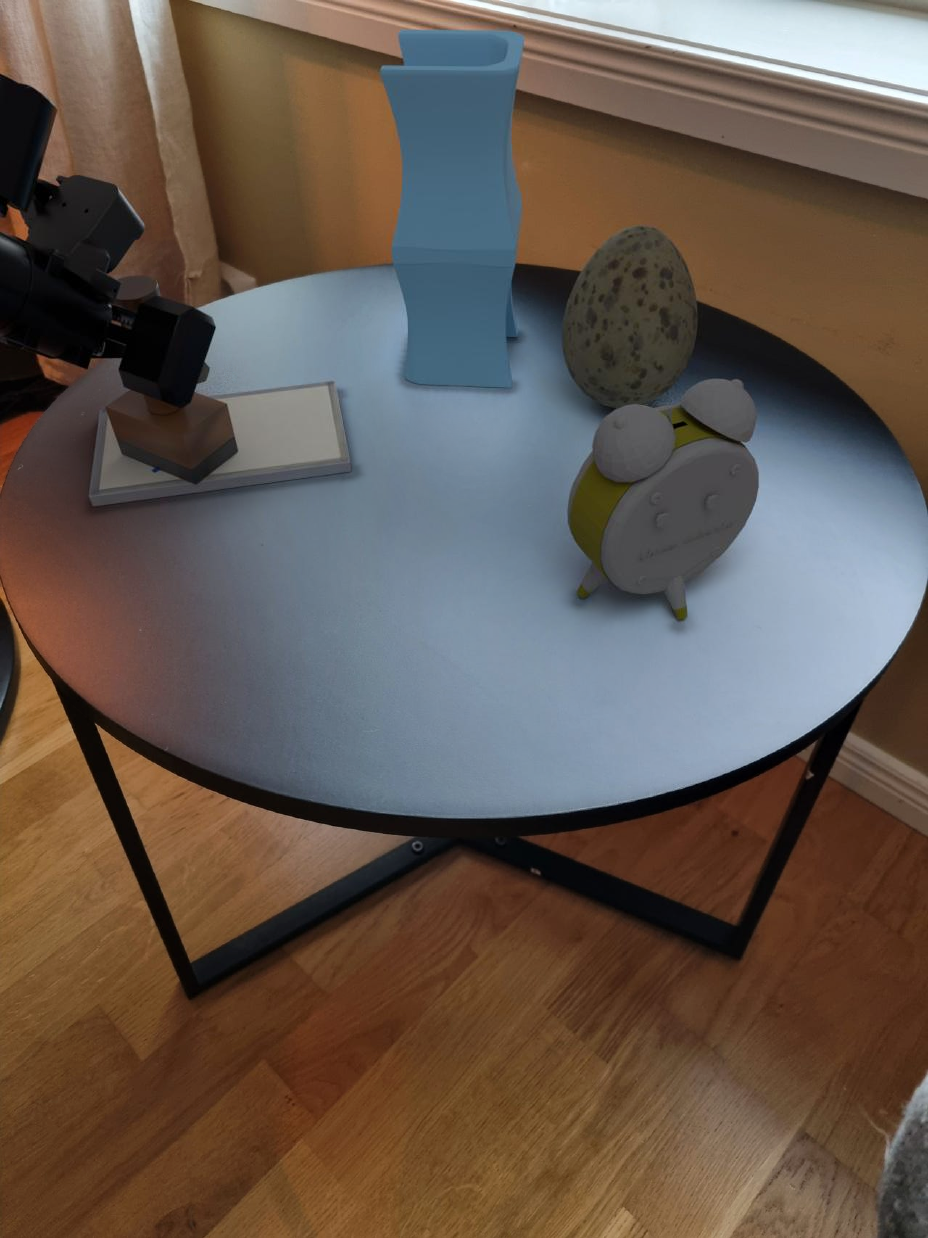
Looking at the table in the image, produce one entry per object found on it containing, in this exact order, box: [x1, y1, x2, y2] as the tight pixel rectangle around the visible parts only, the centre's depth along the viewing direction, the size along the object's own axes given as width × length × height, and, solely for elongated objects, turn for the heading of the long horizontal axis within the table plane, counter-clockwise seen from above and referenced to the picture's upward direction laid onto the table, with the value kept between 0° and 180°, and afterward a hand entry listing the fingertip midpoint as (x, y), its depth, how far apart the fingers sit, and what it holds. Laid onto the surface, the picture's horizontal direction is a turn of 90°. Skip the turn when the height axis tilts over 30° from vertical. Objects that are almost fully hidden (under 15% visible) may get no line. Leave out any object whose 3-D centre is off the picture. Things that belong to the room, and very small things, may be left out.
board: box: [88, 380, 352, 507], centre depth 76 cm, size 20×12×1 cm, turn 101°
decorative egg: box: [561, 224, 698, 410], centre depth 74 cm, size 11×11×15 cm
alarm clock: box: [566, 378, 760, 620], centre depth 58 cm, size 12×7×15 cm, turn 117°
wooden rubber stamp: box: [104, 275, 238, 485], centre depth 69 cm, size 5×8×14 cm, turn 59°
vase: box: [379, 29, 525, 389], centre depth 76 cm, size 10×10×25 cm
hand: (171, 362), depth 69 cm, fingers open, 7 cm apart
